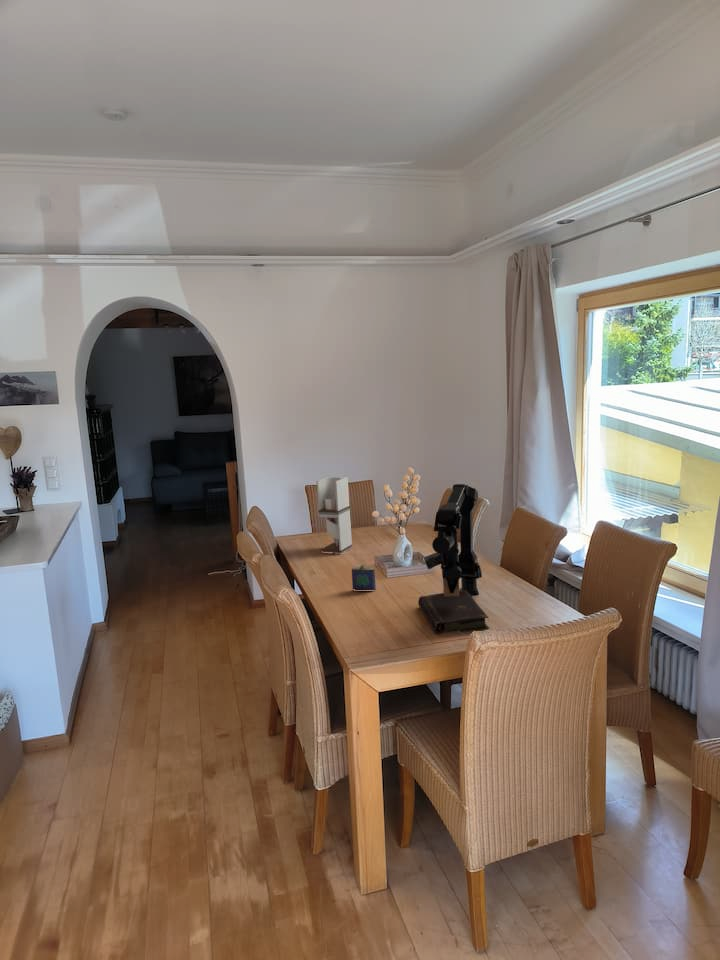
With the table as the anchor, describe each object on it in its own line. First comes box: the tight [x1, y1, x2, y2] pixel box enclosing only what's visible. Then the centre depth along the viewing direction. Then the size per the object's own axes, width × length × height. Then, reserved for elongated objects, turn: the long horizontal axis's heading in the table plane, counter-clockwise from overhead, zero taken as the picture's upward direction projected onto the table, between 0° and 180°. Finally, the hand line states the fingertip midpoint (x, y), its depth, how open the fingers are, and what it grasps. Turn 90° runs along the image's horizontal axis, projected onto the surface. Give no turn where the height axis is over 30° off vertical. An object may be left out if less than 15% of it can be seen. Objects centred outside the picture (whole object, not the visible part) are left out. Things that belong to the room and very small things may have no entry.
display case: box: [316, 476, 353, 553], centre depth 303 cm, size 11×11×35 cm
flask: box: [351, 563, 377, 590], centre depth 246 cm, size 9×3×11 cm, turn 78°
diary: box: [417, 590, 490, 636], centre depth 215 cm, size 19×25×5 cm
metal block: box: [442, 577, 460, 597], centre depth 213 cm, size 5×5×6 cm
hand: (451, 590), depth 214 cm, fingers closed on metal block, 5 cm apart
